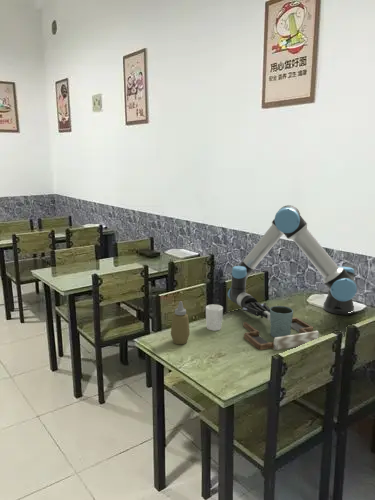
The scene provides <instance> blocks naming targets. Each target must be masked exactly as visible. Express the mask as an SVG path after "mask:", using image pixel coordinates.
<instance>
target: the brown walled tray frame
mask: <svg viewBox="0 0 375 500" xmlns="http://www.w3.org/2000/svg"><path fill="white" fill-rule="evenodd" d="M242 327H244V328H245V329H246V330H247V331H248V332H244V333H243V338H244V339H245V340H246V341H248V342H249V343H250V344H251V345H252V346H253V347H255V348H256V349H258V350H261V351H263V350H267V349H273V350H275V351H278V350H285V349H289V348H295V347H301V346H300V345H302V344H305V343H307V342H309V341H312V340H314V339H317V338H318V339H319V334H320V333H319V330H314V326H312V325H310V324H308V323H307V322H305V321H304V320H303V319H300V318H298V317H295V316H293V317H292V323H291V329H293V330H294V331H296V332H297V333H295V334H294V333H293V334H290V335H287V336H281V337H275V338H274V337H273V341H270V342H269V341H267V340H266V339H264V338H263V337H262V336H261V335H260V331H259V330H257V329H256V328H255V327H254V326H252V325H251V324H250V323H248V322H246V321H243V326H242ZM302 346H303V345H302Z"/></svg>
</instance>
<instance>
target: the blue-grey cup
mask: <svg viewBox="0 0 375 500" xmlns="http://www.w3.org/2000/svg"><path fill="white" fill-rule="evenodd" d="M269 308H270V321H269V322H270V327H269V329H270V333H269V334H270V336H271V337H273V339H274V338H275V337H281V336H287V335H291V331H292V330H291V329H292V328H291V323H292V318H294V309H292V308H291V307H288V306H285V305H275V306H271V307H269Z"/></svg>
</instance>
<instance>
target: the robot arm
mask: <svg viewBox="0 0 375 500" xmlns="http://www.w3.org/2000/svg"><path fill="white" fill-rule="evenodd" d="M282 236H285V237H286V238H287V240H288V239H289V240H292V241H293V242H294V243H295V245H296V246H297V248H298V249H300V251H301V252H302V253H303V255H305V257H306V258H307V260H308V261H310V263H311V264H312V265H313V266H314V267H315V269H316V270H317V271H318V272H319V274H320V275H321V276H322V277H323V279H322V282H323V284H324V285H325V286H326V287H327V289H328V290H327V295H326V298H325V300H324V302H323V307H322V308H323V310H324V311H326V312H328V313H330V314H335V315H343V316H344V315H346V316H347V315H351V314H353V313H354V312H355V306H354V302H353V298H355V296H356V294H357V290H358V288H357V287H358V286H357V284H356V280H355V278H354V277H355V269H354V268H352V267H349V266H348V267H347V266H339V265H337V263H336V262H335V261H334V260H333V258H332V257H331V256H330V255H329V253H327V250H325V249H324V247H322V245H321V244H320V243H319V242H318V240H317V239H316V238H315V236H313V234H312V233H311V232H310V230H309V229H308V223H307V222H306V220H305V219H304V218H303V217H302V215H301V213H300V210H299V209H298V208H297V207H296V206H294V205H289V204H288V205H283V206H282V207H281V208H280V209H279V210H278V211H277V212H276V213H275V216H274V219H273V220H272V221H271V226H269V228H268V229H267V231H266V232H265V233H264V234H263V235H262V237H261V238H260V239H259V240H258V241H257V243H256V244H255V245H254V247H253V248H252V249H251V250H250V252H249V253H247V255H246V256H245V257H244V258H243V261H241V263H239V265H235V266H233V267H232V269H231V286H230V288H229V290H228V291H227V297H228V299H229V300H231V302H232V303H235V304H236V305H238V307H240V308H242V311H243V312H245V313H249V314H251V315H253V316H256V317H260V318H261V319H263V318H264V319H267V320H268V321H269V322H270V308H271V307H269V306H268V305H267V303H266V302H263V303H261V302H258V300H257V299H256V298H255V297H254V296H252V295H251V294H249V293H247V291H246V287H247V280H248V277H249V276H250V275H251V274H252V273H253V271H254V270H255V269H256V268H257V266H258V265H259V264H260V262H261V261H262V260H263V259H264V258H265V257H266V255H267V254H268V253H269V252H270V251H271V249H272V248H273V247H274V246H275V245H276V244H277V242H279V240H280V238H281V237H282ZM353 310H354V311H353ZM351 311H353V312H351ZM348 312H351V313H348Z"/></svg>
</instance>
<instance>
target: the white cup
mask: <svg viewBox="0 0 375 500" xmlns="http://www.w3.org/2000/svg"><path fill="white" fill-rule="evenodd" d="M223 312H224V306H222V305H220V304H215V303H214V304H213V303H212V304H208V305H206V306H205V321H206V325H205V326H206V329H207V330H210V331H214V332H215V331H220V330H221V329H222V323H223V314H224V313H223Z"/></svg>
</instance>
